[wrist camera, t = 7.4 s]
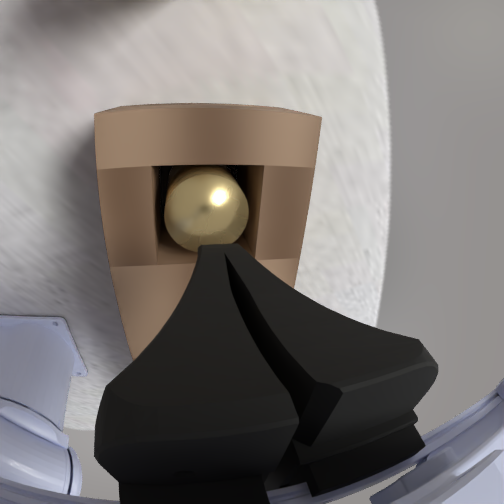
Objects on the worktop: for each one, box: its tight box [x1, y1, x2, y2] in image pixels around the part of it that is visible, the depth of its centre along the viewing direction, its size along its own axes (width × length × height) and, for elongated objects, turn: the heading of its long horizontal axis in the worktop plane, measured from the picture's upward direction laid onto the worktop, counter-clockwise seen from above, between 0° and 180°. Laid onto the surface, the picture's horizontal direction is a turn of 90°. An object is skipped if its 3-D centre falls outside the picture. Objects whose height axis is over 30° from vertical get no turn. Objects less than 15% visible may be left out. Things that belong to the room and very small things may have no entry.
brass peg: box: [164, 164, 249, 252], centre depth 16 cm, size 4×4×6 cm
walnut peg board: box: [94, 103, 322, 361], centre depth 19 cm, size 10×22×6 cm, turn 175°
